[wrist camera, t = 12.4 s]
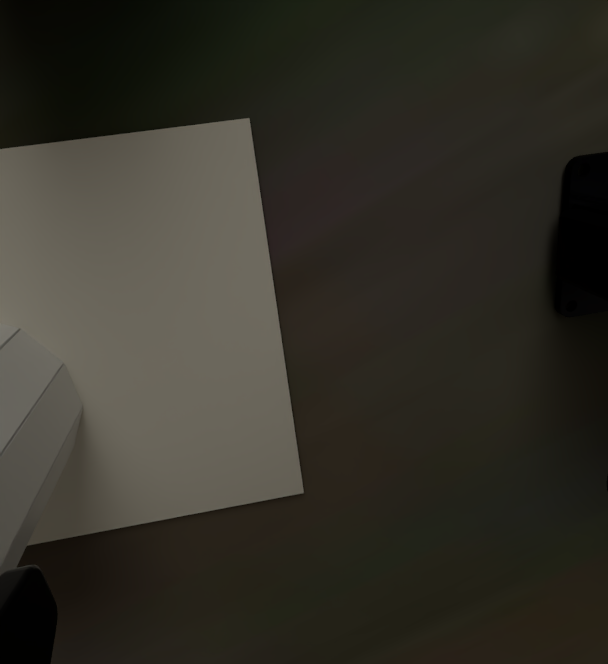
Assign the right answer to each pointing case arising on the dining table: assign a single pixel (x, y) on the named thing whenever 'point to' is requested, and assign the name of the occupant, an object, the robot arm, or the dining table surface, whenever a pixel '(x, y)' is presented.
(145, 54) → the dining table surface
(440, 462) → the dining table surface
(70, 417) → the cover cup
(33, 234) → the placemat
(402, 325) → the dining table surface
